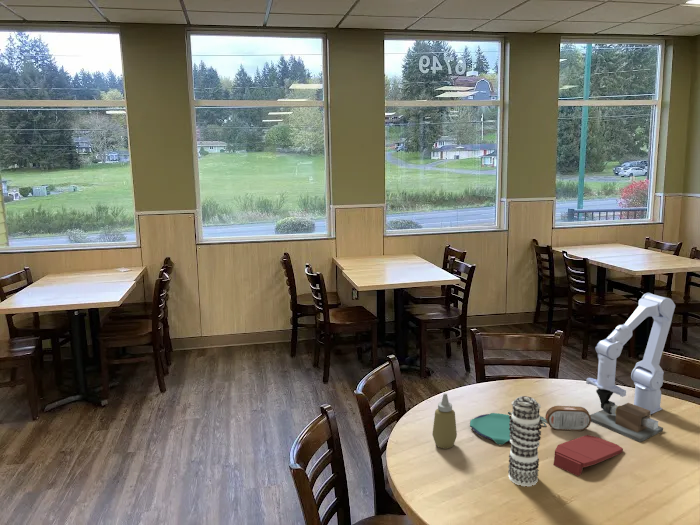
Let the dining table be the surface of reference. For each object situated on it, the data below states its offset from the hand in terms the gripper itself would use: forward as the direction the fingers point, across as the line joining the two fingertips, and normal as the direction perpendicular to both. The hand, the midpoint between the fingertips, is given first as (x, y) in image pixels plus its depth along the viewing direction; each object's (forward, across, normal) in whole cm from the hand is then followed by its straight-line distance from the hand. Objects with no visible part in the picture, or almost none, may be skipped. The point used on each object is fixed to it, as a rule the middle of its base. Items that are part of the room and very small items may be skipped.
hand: (604, 408), depth 201 cm
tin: (+4, -1, -19) cm, 19 cm away
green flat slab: (+4, -14, -34) cm, 37 cm away
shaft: (+1, +10, 0) cm, 10 cm away
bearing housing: (+3, +8, 0) cm, 9 cm away
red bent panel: (+4, +14, -29) cm, 32 cm away
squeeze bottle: (+4, -17, -62) cm, 64 cm away
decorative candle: (+3, +11, -56) cm, 57 cm away
